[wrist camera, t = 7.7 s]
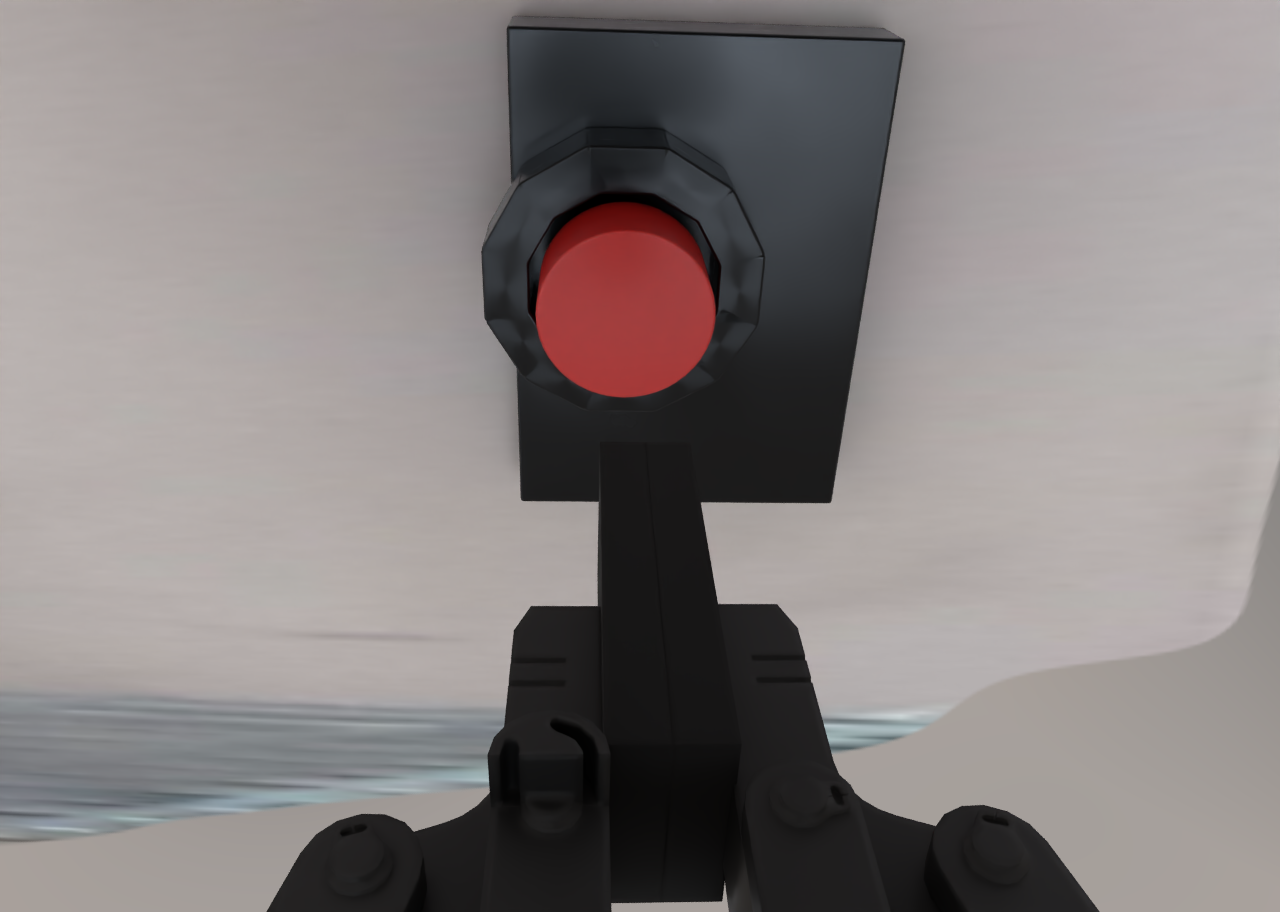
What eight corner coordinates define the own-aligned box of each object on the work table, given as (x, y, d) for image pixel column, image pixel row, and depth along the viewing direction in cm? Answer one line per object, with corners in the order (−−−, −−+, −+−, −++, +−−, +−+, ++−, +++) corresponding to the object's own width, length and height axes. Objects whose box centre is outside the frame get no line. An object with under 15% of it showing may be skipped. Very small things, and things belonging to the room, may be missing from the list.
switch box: (486, 14, 26) (470, 37, 23) (886, 27, 27) (930, 51, 23) (504, 469, 33) (494, 539, 30) (819, 471, 34) (845, 540, 30)
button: (538, 198, 25) (533, 228, 23) (712, 202, 25) (722, 232, 23) (540, 357, 27) (536, 397, 25) (700, 360, 27) (709, 399, 25)
